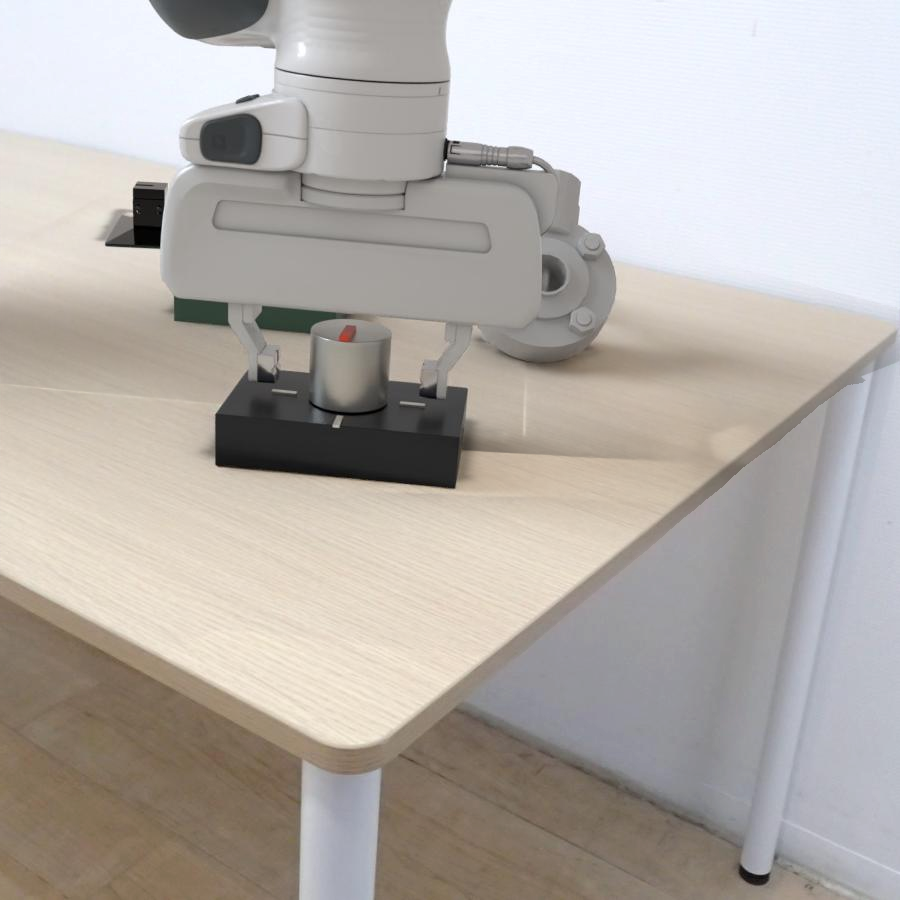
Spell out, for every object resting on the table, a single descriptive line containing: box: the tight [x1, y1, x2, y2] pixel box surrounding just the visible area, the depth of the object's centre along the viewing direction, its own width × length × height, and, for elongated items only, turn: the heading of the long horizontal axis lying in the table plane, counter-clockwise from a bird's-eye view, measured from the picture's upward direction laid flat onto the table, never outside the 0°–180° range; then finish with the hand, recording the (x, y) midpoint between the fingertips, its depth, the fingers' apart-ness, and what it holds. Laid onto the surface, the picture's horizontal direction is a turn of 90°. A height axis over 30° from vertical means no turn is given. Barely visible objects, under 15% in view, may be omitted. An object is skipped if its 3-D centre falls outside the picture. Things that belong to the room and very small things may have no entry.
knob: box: [308, 318, 393, 413], centre depth 65 cm, size 4×4×4 cm
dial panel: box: [214, 369, 469, 490], centre depth 66 cm, size 13×9×3 cm, turn 86°
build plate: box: [104, 181, 169, 250], centre depth 111 cm, size 12×7×5 cm, turn 8°
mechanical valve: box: [477, 168, 617, 364], centre depth 91 cm, size 10×18×15 cm
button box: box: [173, 295, 348, 334], centre depth 89 cm, size 12×8×4 cm, turn 86°
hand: (348, 388), depth 65 cm, fingers open, 8 cm apart
